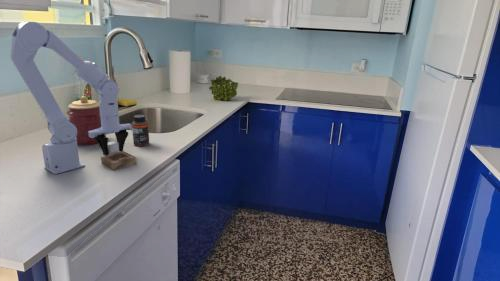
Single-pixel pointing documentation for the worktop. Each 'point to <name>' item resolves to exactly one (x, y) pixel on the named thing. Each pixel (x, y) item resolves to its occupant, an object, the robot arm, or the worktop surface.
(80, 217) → the worktop surface
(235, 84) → the green broccoli head
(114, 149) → the plug
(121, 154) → the socket block
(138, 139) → the supplement bottle
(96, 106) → the canister
